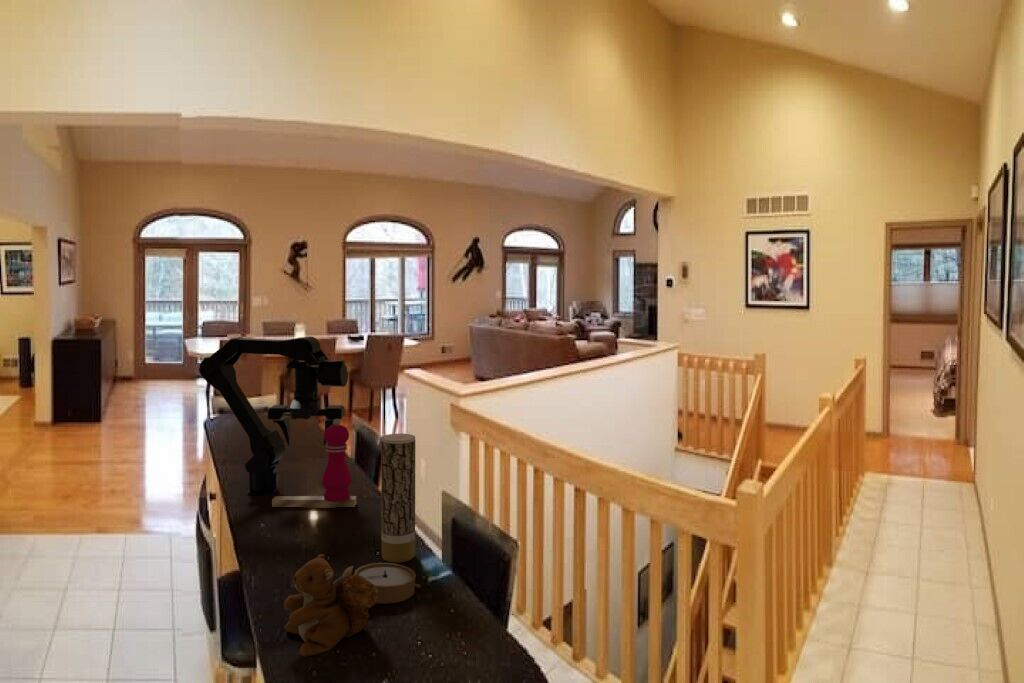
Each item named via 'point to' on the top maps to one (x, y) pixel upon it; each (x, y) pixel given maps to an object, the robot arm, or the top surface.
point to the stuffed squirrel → (327, 606)
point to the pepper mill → (336, 464)
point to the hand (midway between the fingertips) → (307, 444)
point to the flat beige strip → (310, 502)
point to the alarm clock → (387, 580)
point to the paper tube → (398, 497)
